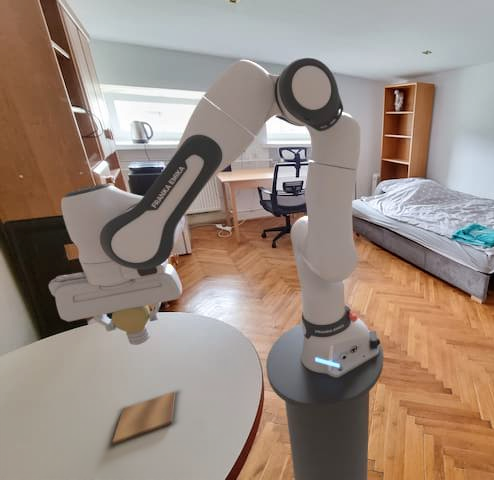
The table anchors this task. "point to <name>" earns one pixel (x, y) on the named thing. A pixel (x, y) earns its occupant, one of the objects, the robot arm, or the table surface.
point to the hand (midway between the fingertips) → (134, 323)
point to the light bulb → (133, 323)
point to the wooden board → (145, 417)
